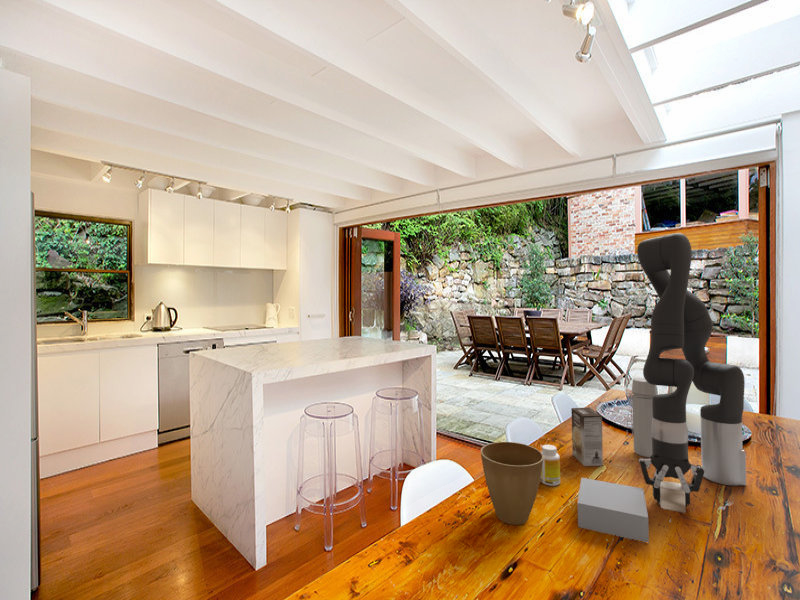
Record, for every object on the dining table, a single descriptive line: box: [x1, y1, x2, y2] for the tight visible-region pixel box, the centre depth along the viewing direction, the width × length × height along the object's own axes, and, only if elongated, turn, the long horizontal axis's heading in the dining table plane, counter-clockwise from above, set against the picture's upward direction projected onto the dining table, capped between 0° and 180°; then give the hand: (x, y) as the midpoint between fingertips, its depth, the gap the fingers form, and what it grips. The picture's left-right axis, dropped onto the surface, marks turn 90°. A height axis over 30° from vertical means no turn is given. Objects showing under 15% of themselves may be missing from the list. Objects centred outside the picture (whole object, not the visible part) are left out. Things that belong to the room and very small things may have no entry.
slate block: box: [577, 477, 650, 544], centre depth 94 cm, size 14×14×6 cm
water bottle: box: [626, 377, 659, 459], centre depth 130 cm, size 9×8×25 cm
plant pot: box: [480, 441, 543, 526], centre depth 96 cm, size 15×15×16 cm
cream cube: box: [659, 480, 687, 514], centre depth 99 cm, size 5×5×5 cm
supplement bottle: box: [540, 444, 561, 487], centre depth 113 cm, size 6×6×10 cm
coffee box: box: [570, 407, 604, 467], centre depth 126 cm, size 9×6×16 cm
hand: (671, 502), depth 99 cm, fingers closed on cream cube, 5 cm apart
